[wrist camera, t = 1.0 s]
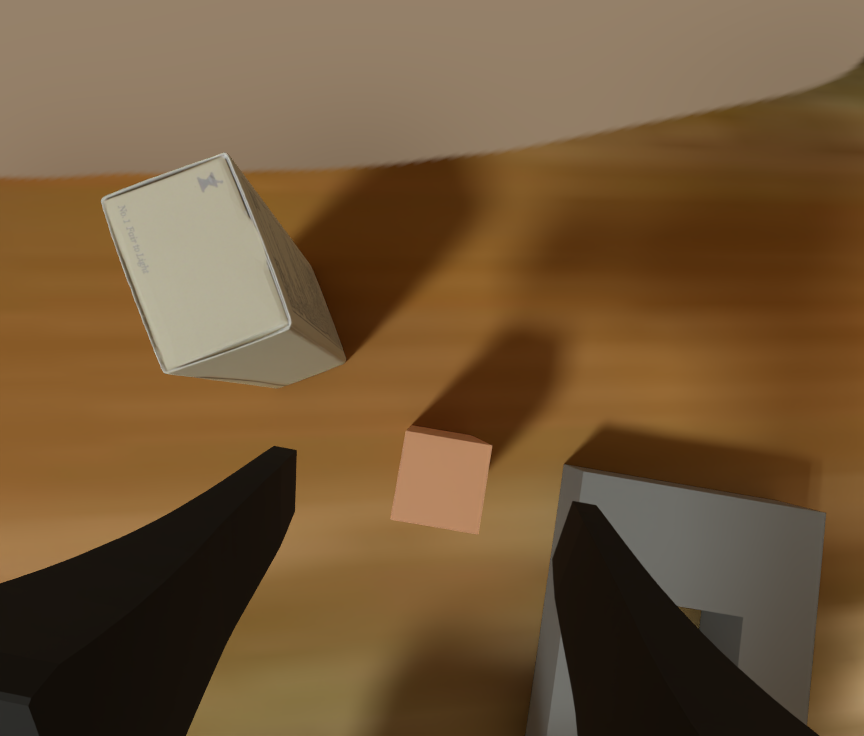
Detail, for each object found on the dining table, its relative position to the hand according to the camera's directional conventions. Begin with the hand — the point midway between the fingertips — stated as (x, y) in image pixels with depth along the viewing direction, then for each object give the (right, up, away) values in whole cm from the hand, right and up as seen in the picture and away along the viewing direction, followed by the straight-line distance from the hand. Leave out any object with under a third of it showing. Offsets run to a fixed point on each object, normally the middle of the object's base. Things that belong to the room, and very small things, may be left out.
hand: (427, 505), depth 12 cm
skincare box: (-7, +6, +15) cm, 17 cm away
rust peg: (0, -2, +14) cm, 14 cm away
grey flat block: (+12, -11, +13) cm, 21 cm away
